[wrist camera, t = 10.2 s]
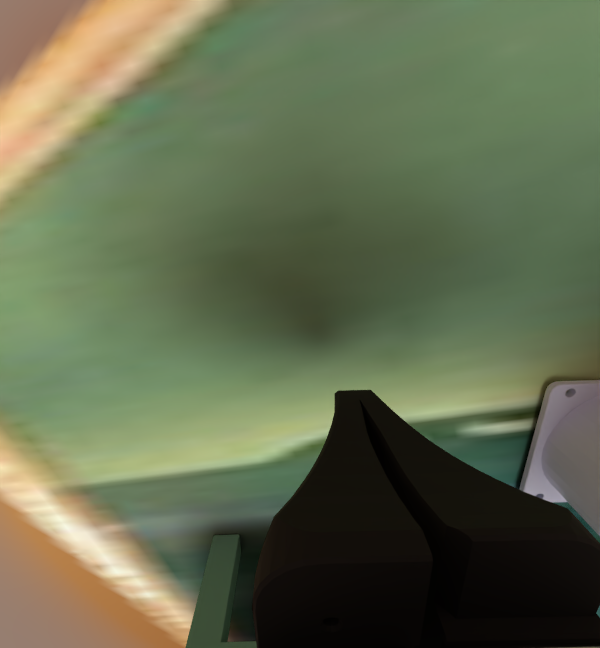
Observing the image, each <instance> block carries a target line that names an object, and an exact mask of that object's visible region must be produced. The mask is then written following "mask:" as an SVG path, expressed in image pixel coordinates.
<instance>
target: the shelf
mask: <svg viewBox="0 0 600 648" xmlns="http://www.w3.org/2000/svg"><path fill="white" fill-rule="evenodd" d="M240 558H241V545H240V537H239V534H236V535H214V536H213V540H212V544H211V548H210V552H209V556H208V560H207V564H206V568H205V572H204V576H203V580H202V584H201V588H200V592H199V596H198V600H197V604H196V608H195V612H194V616H193V620H192V624H191V628H190V632H189V636H188V640H187V644H186V648H257V644H256V641H246V642H227V641H228V634H229V628H230V622H231V615H232V609H233V602H234V596H235V590H236V583H237V577H238V570H239V564H240Z"/></svg>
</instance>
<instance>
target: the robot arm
mask: <svg viewBox="0 0 600 648" xmlns="http://www.w3.org/2000/svg"><path fill="white" fill-rule="evenodd" d="M567 390H568V391H567ZM566 391H567V392H566ZM551 502H568V503H569V504H570V505H571V506H572V507H573V508H574V509H575V510H576V511H577V512H578V513H579V515H580V516H581V517H582V518H583V519H584V520H585V521H586V522H587V523H588V524H589V525H590V526H591V527H592V528H593V529H594V530H595V532H596V533H597V534H598V535H599V536H600V380H580V381H556V382H553V383H551V384H550V385H549V386H548V387H547V389H546V392H545V395H544V399H543V403H542V406H541V410H540V414H539V418H538V421H537V425H536V429H535V432H534V436H533V440H532V443H531V447H530V451H529V455H528V458H527V462H526V466H525V469H524V473H523V477H522V480H521V484H520V488H519V489H516V488H514V487H512V486H510V485H508V484H506V483H503V482H501V481H499V480H497V479H495V478H493V477H491V476H489V475H487V474H485V473H483V472H481V471H479V470H477V469H475V468H473V467H472V466H470V465H468V464H466V463H464V462H462V461H461V460H459V459H457V458H456V457H454V456H452V455H451V454H449V453H447V452H446V451H444V450H443V449H441V448H440V447H438V446H437V445H435V444H434V443H432V442H431V441H429V440H428V439H427V438H425V437H424V436H423V435H421V434H420V433H419V432H417V431H416V430H415V429H414V428H412V427H411V426H410V425H409V424H407V423H406V422H405V421H404V420H403V419H401V418H400V417H399V416H398V415H397V414H396V413H395V412H393V411H392V410H391V409H390V408H389V407H388V406H387V405H386V404H385V403H384V402H383V401H382V400H381V399H380V398H379V397H378V396H377V395H376V394H375V393H373V392H372V391H371V390H349V391H337V392H336V393H335V413H334V417H333V421H332V425H331V428H330V431H329V434H328V436H327V439H326V442H325V444H324V446H323V448H322V451H321V453H320V455H319V457H318V458H317V460H316V462H315V464H314V466H313V467H312V469H311V471H310V472H309V474H308V476H307V477H306V478H305V480H304V481H303V483H302V484H301V485H300V487H299V488H298V490H297V491H296V492H295V494H294V495H293V496H292V497H291V499H290V500H289V501H288V502H287V503H286V504H285V505H284V506H283V508H282V509H281V510H280V511H279V512H278V513H277V514H276V515H275V516H274V518H273V521H272V523H271V526H270V528H269V531H268V533H267V536H266V539H265V541H264V544H263V547H262V550H261V554H260V557H259V561H258V565H257V569H256V574H255V582H254V593H253V604H252V611H253V619H254V628H255V636H256V644H257V648H600V618H599V616H598V615H597V614H596V612H597V610H598V608H599V605H600V543H599V542H598V541H597V540H596V539H595V538H594V537H593V535H592V534H591V533H590V532H589V531H588V530H587V529H586V528H585V527H584V526H583V525H582V523H581V522H580V521H579V520H578V519H577V518H576V517H575V516H574V515H573V514H572V513H571V512H570V511H569V510H568V509H567V508H564V507H562V506H559V505H557V504H554V503H551Z"/></svg>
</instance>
